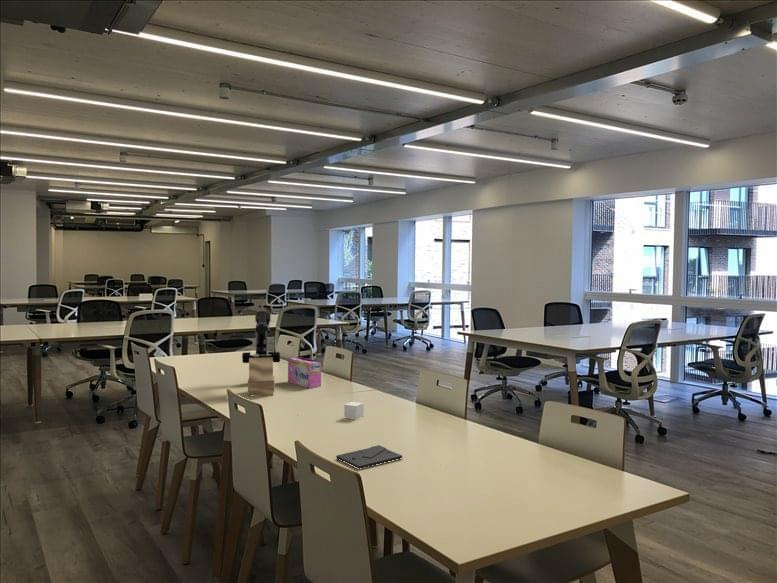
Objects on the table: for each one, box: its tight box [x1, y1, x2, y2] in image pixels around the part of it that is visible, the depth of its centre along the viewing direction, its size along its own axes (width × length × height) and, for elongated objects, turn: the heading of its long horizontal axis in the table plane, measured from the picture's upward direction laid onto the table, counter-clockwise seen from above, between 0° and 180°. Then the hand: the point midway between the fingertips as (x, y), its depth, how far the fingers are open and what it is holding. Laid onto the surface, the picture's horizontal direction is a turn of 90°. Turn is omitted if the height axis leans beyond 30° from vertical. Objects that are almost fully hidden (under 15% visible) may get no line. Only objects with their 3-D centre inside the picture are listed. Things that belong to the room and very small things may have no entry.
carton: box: [247, 375, 276, 397], centre depth 302 cm, size 12×13×8 cm
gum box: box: [287, 356, 322, 388], centre depth 325 cm, size 24×8×14 cm, turn 40°
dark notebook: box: [335, 444, 403, 469], centre depth 200 cm, size 13×2×18 cm
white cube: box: [343, 401, 365, 420], centre depth 254 cm, size 6×6×6 cm
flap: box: [248, 357, 274, 381], centre depth 295 cm, size 12×12×1 cm
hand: (261, 371), depth 296 cm, fingers closed, pressing on flap
